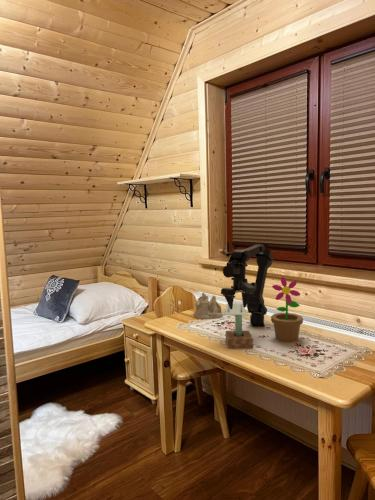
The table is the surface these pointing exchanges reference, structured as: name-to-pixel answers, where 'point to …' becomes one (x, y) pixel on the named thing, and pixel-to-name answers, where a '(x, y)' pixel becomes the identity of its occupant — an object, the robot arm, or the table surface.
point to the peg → (238, 325)
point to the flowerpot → (286, 315)
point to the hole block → (239, 340)
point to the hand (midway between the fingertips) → (238, 308)
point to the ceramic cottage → (207, 308)
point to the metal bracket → (235, 310)
